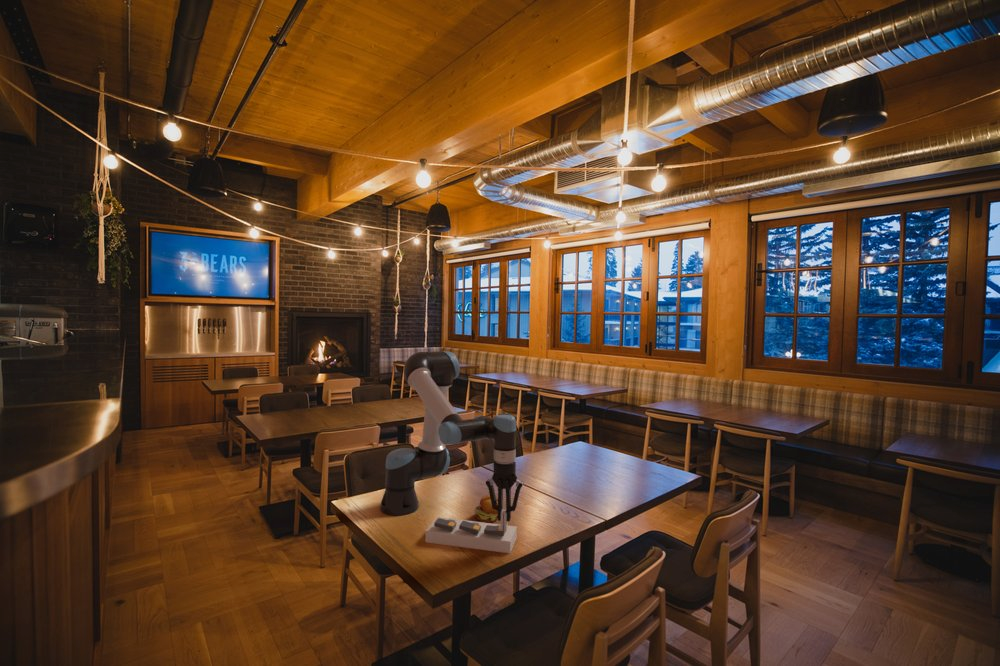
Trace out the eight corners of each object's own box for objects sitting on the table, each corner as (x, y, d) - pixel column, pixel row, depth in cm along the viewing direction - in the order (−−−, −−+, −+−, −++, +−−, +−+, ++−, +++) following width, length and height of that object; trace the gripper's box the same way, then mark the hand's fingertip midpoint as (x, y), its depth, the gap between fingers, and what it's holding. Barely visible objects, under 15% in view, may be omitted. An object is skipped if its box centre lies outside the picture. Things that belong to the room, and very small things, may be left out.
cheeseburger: (485, 510, 193) (490, 487, 191) (504, 523, 186) (510, 500, 184) (468, 517, 185) (473, 494, 183) (487, 531, 178) (493, 508, 177)
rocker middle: (458, 529, 162) (459, 524, 162) (462, 524, 166) (463, 520, 166) (477, 534, 161) (478, 530, 161) (480, 529, 165) (481, 525, 164)
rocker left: (433, 526, 164) (434, 522, 164) (437, 521, 168) (438, 517, 168) (452, 531, 163) (453, 527, 162) (455, 526, 166) (456, 522, 166)
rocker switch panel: (425, 542, 164) (425, 530, 164) (437, 527, 175) (437, 516, 175) (510, 553, 157) (510, 541, 157) (516, 537, 169) (516, 526, 169)
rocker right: (483, 534, 160) (484, 529, 160) (486, 529, 164) (486, 524, 164) (503, 536, 159) (503, 531, 159) (505, 531, 163) (506, 526, 163)
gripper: (482, 462, 158) (482, 532, 158) (522, 465, 155) (521, 536, 155) (487, 456, 165) (487, 523, 166) (525, 459, 162) (525, 527, 163)
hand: (504, 530), depth 161 cm, fingers closed
